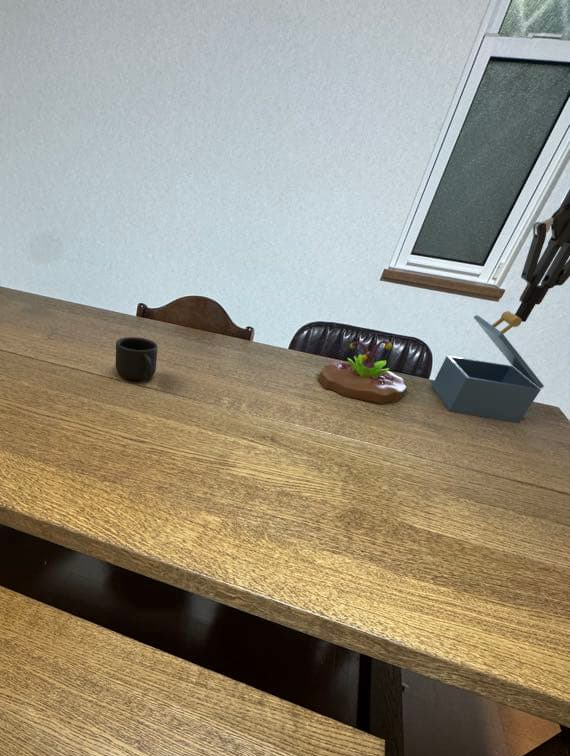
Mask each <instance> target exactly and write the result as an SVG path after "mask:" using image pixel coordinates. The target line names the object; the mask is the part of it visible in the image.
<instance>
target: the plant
mask: <svg viewBox="0 0 570 756" xmlns="http://www.w3.org/2000/svg"><path fill="white" fill-rule="evenodd" d="M382 344H384V348H385V349H386V350H391V349H392V347H393V344H392V342H391V341H389V340H387V339H382V340H380V341H379V342H378V343H376V344H375V346H373V348H372V350H371V351H369V350H368V347H367V346H366V345H365V344H364V343H363V342H361V341H353V342H351V343H350V344H349V348H350V349H351V350H353V349H355V348H356V345H359V346H360V347H362V351H363V354H361V353H359V354H358V356H356V355H354V356H353V358H354V360H352V358H349V357H347V361H342V360H334V361H330V362H329V363H328V365H327V366H326V367H325V368H324V369H322V370H321V371H320V372H319V377H318V381H319V383H320V385H322V387H323V388H324V389H325V390H327V391H333V392H335V393H338V394H339V395H341V396H343V397H345V398H346V397H347V398H352V399H356V400H361V401H366V402H369V403H374V404H378V405H385V404H389V403H396V402H399V401H400V400H401V398H402V397H403V396H404V394H405V393H406V391H407V388H408V386H407V385H405V383H404V378H403V377H400V376H398V375H397V374H395V373H393V372H391V371H390V368H389V367H388V368H387V367H386V368H383V367H385V366H386V365H387V360H379V361H376V362H375V357H376V354H377V350H378V349H379V348H380V347H381V345H382Z"/></svg>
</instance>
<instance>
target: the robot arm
mask: <svg viewBox="0 0 570 756" xmlns="http://www.w3.org/2000/svg"><path fill="white" fill-rule="evenodd" d="M548 232H551V236H550V238H549V239H548V242H547V245H546V247H545V249H544V251H543V247H544V245H545V242H546V239H547V238H546V237H547V233H548ZM532 234H533V237H532V240H531V243H530V246H529V249H528V252H527V255H526V259H525V262H524V266H523V268H522V272H521V274H520V278H521V279H522V280H524V281H525V282H526V285H525V287H524V289H523V291H522V293H521V295H520V297H519V299H518V300H519V302H521V303H520V304H519V306H518V308H517V310H516V311H515V313H514V315H516V316H517V317H519V318H521V320H522V322H524V323H526V322H527V320H528V318H529V316H530V315H531V313H532V312H533V310H534V308H535V306H536V305H538V306H539V305H540V304H541V303H542V302H543V300H544V298H545V297H546V295H547V293H548V291H549V290H550V289H553V288H554V287H556V286H563V285H564V284H565V282H567V280H568V279H569V278H570V187H569V188H568V189H567V191H566V193H565V194H564V197H563V199H562V200H561V202H560V205H559V207H558V209H556V210H555V212H553V214H552V215H551V217H549V218H548V219H547V218H546V219H545V220H543V221H541V222H540V221H537V222H534V224H533V225H532ZM542 251H543V253H542ZM541 254H542V255H541ZM522 322H521V323H522Z"/></svg>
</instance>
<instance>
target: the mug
mask: <svg viewBox="0 0 570 756" xmlns="http://www.w3.org/2000/svg"><path fill="white" fill-rule="evenodd" d="M158 349H159V347H158V344H157V343H156V342H155V341H153V340H151V339H147V338H144V337H137V336H135V337H134V336H128V337H122V338H119V339H118V340H116V342H115V362H114V363H115V364H114V365H115V370H116V373H117V374H118V375H119V376H120V377H122V378H124V379H126V380H128V381H131V382H132V381H133V382H142V381H143V382H144V381H146V380H149V379H151V378H152V377H153V376H154V375H155V373H156V370H157V360H158Z"/></svg>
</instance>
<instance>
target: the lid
mask: <svg viewBox="0 0 570 756" xmlns="http://www.w3.org/2000/svg"><path fill="white" fill-rule="evenodd" d="M473 319H474V320H475V321H476V323H477V324H478V325H479V326H480V328H481V329H482V330H483V331H484V332H485V334H486V335H487V336H488V338H489V339H490V340H491V342H492V343H493V344H494V345H495V347H496V348H497V349H498V350H499V351H500V352H501V354H502V355H503V356H504V357H505V359H506V360H507V361H508V363H509V364H510V366H513V367H514V368H515V369H517V370H518V371H519V372H520V373H521V374H523V375H524V376H525V377H526V378H527V379H529V380H530V381H531V382H532V383H533V384H535V385H536V386H537V387H538V388H539V389H541V390H542V389H543V388H544V387H545V384H543V383H542V381H541V380H540V379H539V378H538V376H537V375H536V374H535V372H534V371H533V370H532V368H531V367H530V366H529V365H528V364H527V362H526V361H525V360H524V358H523V357H522V356H521V355H520V353H519V352H518V351H517V349H516V348H515V347H514V346H513V344H512V343H511V342H510V341H509V340H508V338H507V337H506V335H505V333H507V332H509V330H511V329H512V328H517V327H519V326H520V325H521V324H522V320H521V318H519V317H517V316H516V315H515V313H513V312H511V311H509V310H505V311H504V312H502V313H501V315H500V318H499V319H498V320H496V321H495V322H493V323H492V324H491V323H489V322H488V321H487V320H485V319H483V318H482V317H481V316H480V315H478V314H476V315H474V316H473ZM503 322H505V323H506V324H508V325H506V326H505V327H504V328H503V329H501V330H499V329H498V328H497V327H498V326H499V325H501V324H502V323H503Z"/></svg>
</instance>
